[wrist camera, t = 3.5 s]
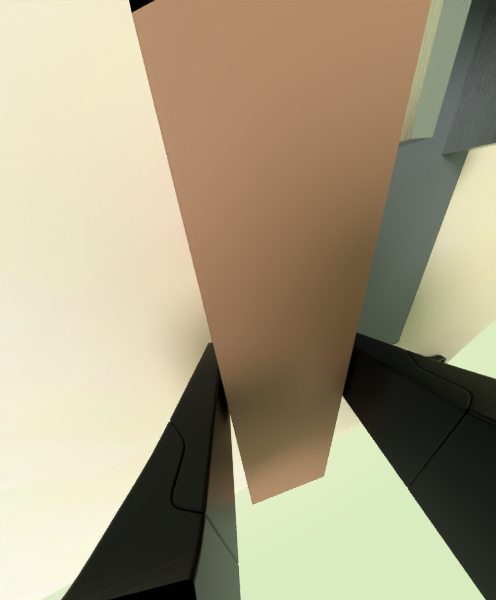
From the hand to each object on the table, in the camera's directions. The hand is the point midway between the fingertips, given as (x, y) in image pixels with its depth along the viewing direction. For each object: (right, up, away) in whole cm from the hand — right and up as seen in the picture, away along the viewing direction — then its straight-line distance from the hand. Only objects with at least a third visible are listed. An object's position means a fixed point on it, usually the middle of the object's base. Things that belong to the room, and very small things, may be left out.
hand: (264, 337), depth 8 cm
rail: (0, +1, +1) cm, 1 cm away
